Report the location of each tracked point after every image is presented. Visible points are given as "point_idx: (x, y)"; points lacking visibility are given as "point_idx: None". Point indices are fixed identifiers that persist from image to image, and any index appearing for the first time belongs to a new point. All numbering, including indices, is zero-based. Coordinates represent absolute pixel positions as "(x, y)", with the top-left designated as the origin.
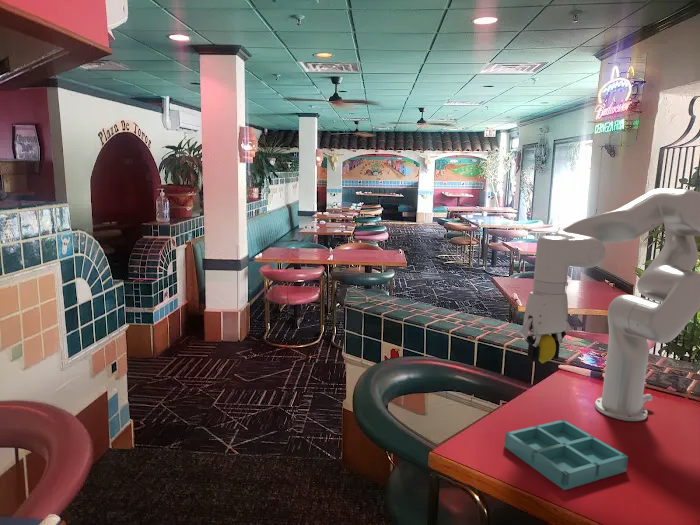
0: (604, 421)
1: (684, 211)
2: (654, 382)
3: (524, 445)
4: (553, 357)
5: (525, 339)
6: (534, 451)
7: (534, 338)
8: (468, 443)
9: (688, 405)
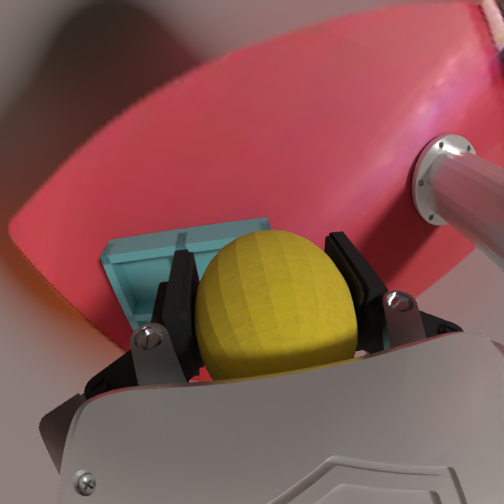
0: (389, 201)
1: None
2: None
3: (119, 300)
4: None
5: (104, 378)
6: (129, 317)
7: (218, 338)
8: (51, 216)
9: None
